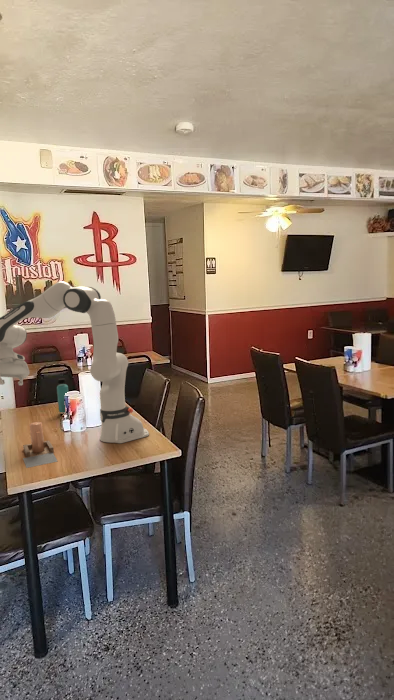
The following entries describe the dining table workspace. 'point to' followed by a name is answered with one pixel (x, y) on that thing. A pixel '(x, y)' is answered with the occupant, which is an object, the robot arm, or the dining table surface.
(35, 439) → the tall peach cylinder
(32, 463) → the mat
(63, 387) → the beverage bottle
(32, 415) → the dining table surface
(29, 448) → the cradle
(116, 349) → the robot arm
